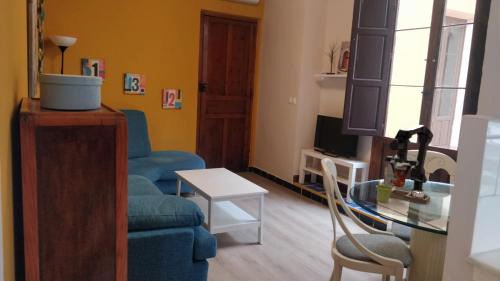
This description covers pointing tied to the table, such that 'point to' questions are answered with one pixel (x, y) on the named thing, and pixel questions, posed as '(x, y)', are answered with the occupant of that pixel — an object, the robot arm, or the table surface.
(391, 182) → the coffee box
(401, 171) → the soda can
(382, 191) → the plant pot
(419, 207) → the table surface
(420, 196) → the tin
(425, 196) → the rack
